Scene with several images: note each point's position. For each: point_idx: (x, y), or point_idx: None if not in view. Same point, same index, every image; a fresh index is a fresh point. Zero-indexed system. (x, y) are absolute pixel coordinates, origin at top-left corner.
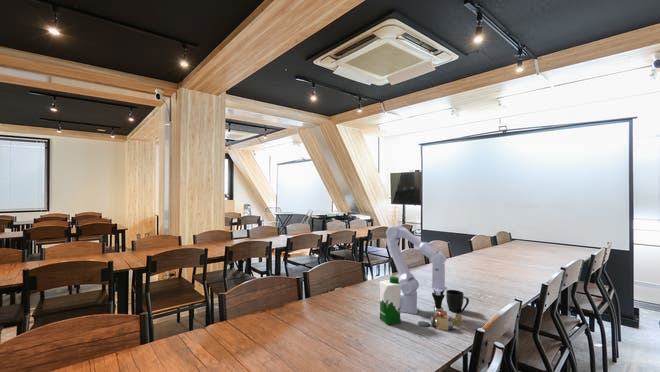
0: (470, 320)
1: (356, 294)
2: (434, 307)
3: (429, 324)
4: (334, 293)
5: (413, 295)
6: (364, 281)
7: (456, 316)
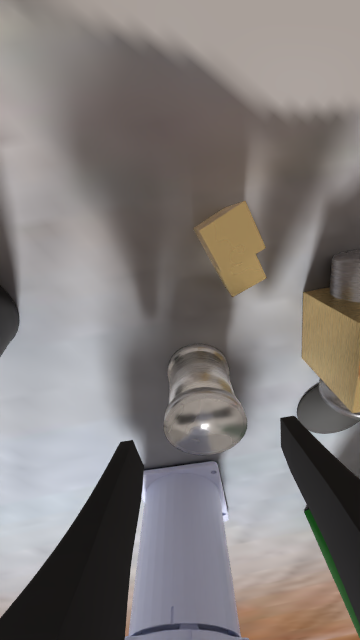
0: (73, 146)
1: None
2: (217, 448)
3: None
4: None
5: (224, 627)
6: None
7: (242, 257)
